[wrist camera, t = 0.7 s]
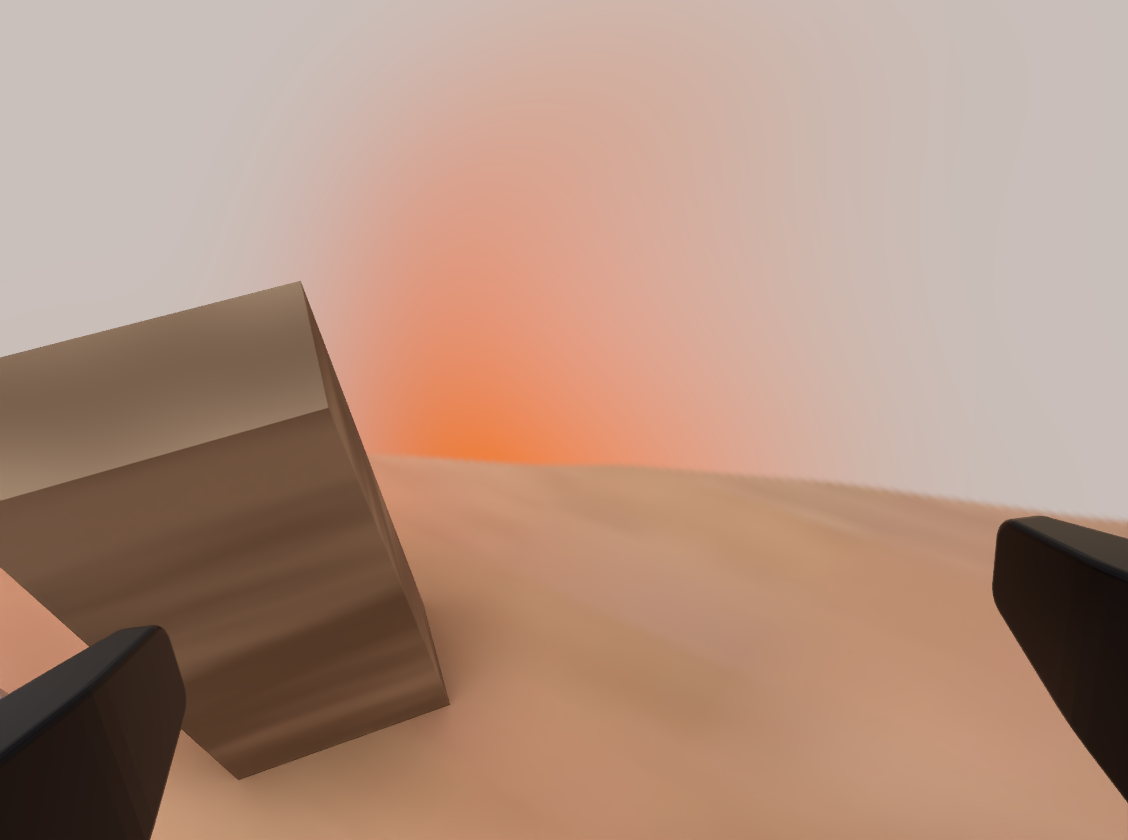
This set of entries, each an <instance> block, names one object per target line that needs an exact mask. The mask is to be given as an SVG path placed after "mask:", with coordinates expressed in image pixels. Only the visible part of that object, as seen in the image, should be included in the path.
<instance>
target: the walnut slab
mask: <svg viewBox="0 0 1128 840" xmlns="http://www.w3.org/2000/svg"><path fill="white" fill-rule="evenodd" d="M0 567H1V568H2V569H3V570H4V571H5V572H6V573H7V574H9V575H10V576H11V577H12V578H13V579H14V580H15V581H16V582H18V583H19V584H20V585H21V586H22V587H23V588H24V589H25V590H26V591H28V592H29V593H30V594H31V595H32V596H33V597H34V598H35V599H37V600H38V601H39V602H40V603H41V604H42V605H43V606H44V607H46V608H47V609H48V610H49V611H50V612H51V613H52V614H53V615H54V616H56V617H57V618H58V619H59V620H60V621H61V622H62V623H63V624H65V625H66V626H67V627H68V628H69V629H70V630H71V631H72V632H73V633H75V634H76V635H77V636H78V637H79V638H80V639H81V640H82V641H84V642H85V643H86V644H87V645H88V646H89V647H90V646H92V645H94V644H95V643H97V642H99V641H100V640H102V639H104V638H106V637H107V636H109V635H111V634H112V633H114V632H116V631H118V630H120V629H124V628H131V627H139V626H147V625H159V626H161V627H162V628H164V629H165V631H166V632H167V633H168V635H169V638H170V640H171V644H172V647H173V650H174V653H175V656H176V660H177V663H178V666H179V669H180V672H181V676H182V679H183V682H184V685H185V689H186V696H187V704H186V711H185V716H184V720H183V723H182V727H181V729H182V730H183V731H184V732H185V733H186V734H188V735H189V736H190V737H191V738H192V739H193V740H194V741H195V742H197V743H198V744H199V745H200V746H201V747H202V748H203V749H204V750H205V751H207V752H208V753H209V754H210V755H211V756H212V757H213V758H214V759H216V760H217V761H218V762H219V763H220V764H221V765H222V766H223V767H224V768H226V769H227V770H228V771H229V772H230V773H231V774H232V775H233V776H235V777H236V778H237V779H238V780H239V779H242V778H245V777H248V776H250V775H253V774H256V773H259V772H262V771H264V770H267V769H270V768H273V767H276V766H278V765H281V764H284V763H287V762H290V761H292V760H295V759H298V758H301V757H304V756H307V755H309V754H312V753H315V752H318V751H321V750H323V749H326V748H329V747H332V746H335V745H337V744H340V743H343V742H346V741H349V740H351V739H354V738H357V737H360V736H363V735H366V734H368V733H371V732H374V731H377V730H380V729H382V728H385V727H388V726H391V725H394V724H396V723H399V722H402V721H405V720H408V719H411V718H413V717H416V716H419V715H422V714H425V713H427V712H430V711H433V710H436V709H439V708H441V707H444V706H447V705H450V704H449V700H448V696H447V692H446V689H445V685H444V681H443V677H442V673H441V670H440V666H439V662H438V658H437V655H436V651H435V647H434V643H433V639H432V636H431V632H430V628H429V624H428V621H427V617H426V613H425V609H424V605H423V602H422V599H421V596H420V594H419V591H418V588H417V586H416V583H415V581H414V578H413V575H412V573H411V570H410V567H409V565H408V562H407V559H406V557H405V554H404V552H403V549H402V546H401V544H400V541H399V538H398V536H397V533H396V531H395V528H394V525H393V523H392V520H391V517H390V515H389V512H388V510H387V507H386V504H385V502H384V499H383V496H382V494H381V491H380V489H379V486H378V483H377V481H376V478H375V475H374V473H373V470H372V467H371V465H370V462H369V460H368V457H367V454H366V452H365V449H364V446H363V444H362V441H361V439H360V436H359V433H358V431H357V428H356V425H355V423H354V420H353V418H352V415H351V412H350V410H349V407H348V405H347V402H346V399H345V396H344V394H343V391H342V389H341V386H340V383H339V381H338V378H337V376H336V373H335V370H334V368H333V365H332V362H331V360H330V357H329V354H328V352H327V349H326V347H325V344H324V341H323V339H322V336H321V333H320V331H319V328H318V326H317V323H316V320H315V318H314V315H313V312H312V310H311V307H310V305H309V302H308V299H307V297H306V294H305V292H304V289H303V286H302V284H301V281H299V282H295V283H291V284H287V285H283V286H279V287H275V288H271V289H268V290H263V291H259V292H256V293H252V294H248V295H244V296H240V297H236V298H232V299H228V300H224V301H220V302H216V303H212V304H208V305H205V306H201V307H197V308H193V309H189V310H185V311H181V312H178V313H173V314H169V315H166V316H161V317H157V318H154V319H150V320H146V321H142V322H138V323H134V324H130V325H126V326H122V327H118V328H114V329H111V330H106V331H103V332H99V333H95V334H91V335H87V336H83V337H79V338H75V339H71V340H67V341H64V342H59V343H56V344H52V345H48V346H44V347H40V348H36V349H32V350H28V351H24V352H20V353H16V354H12V355H9V356H5V357H1V358H0Z"/></svg>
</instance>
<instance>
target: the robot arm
mask: <svg viewBox="0 0 1128 840" xmlns="http://www.w3.org/2000/svg"><path fill="white" fill-rule="evenodd" d="M992 590H993V597H994V601H995V604H996V606H997V608H998V610H999V612H1000V614H1001V615H1002V617H1003V619H1004V620H1005V622H1006V624H1007V625H1008V627H1009V629H1010V630H1011V632H1012V633H1013V635H1014V637H1015V638H1016V640H1017V642H1018V643H1019V645H1020V647H1021V648H1022V650H1023V651H1024V653H1025V655H1026V656H1027V658H1028V660H1029V661H1030V663H1031V665H1032V666H1033V668H1034V669H1035V671H1036V673H1037V674H1038V676H1039V678H1040V679H1041V681H1042V682H1043V684H1044V686H1045V687H1046V689H1047V691H1048V692H1049V694H1050V696H1051V697H1052V699H1053V700H1054V702H1055V704H1056V705H1057V707H1058V708H1059V710H1060V711H1061V713H1062V715H1063V716H1064V718H1065V719H1066V721H1067V722H1068V724H1069V725H1070V727H1071V728H1072V729H1073V731H1074V732H1075V734H1076V735H1077V736H1078V738H1079V739H1080V740H1081V742H1082V743H1083V745H1084V746H1085V747H1086V749H1087V750H1088V751H1089V753H1090V754H1091V755H1092V757H1093V758H1094V759H1095V761H1096V762H1097V763H1098V764H1099V766H1100V767H1101V768H1102V770H1103V771H1104V772H1105V774H1106V775H1107V776H1108V778H1109V779H1110V780H1111V782H1112V783H1113V784H1114V785H1115V787H1116V788H1117V789H1118V791H1119V792H1120V793H1121V795H1122V796H1123V797H1124V799H1125V800H1126V801H1127V803H1128V539H1127V538H1123V537H1120V536H1116V535H1112V534H1108V533H1105V532H1101V531H1097V530H1094V529H1090V528H1086V527H1083V526H1079V525H1075V524H1072V523H1068V522H1064V521H1060V520H1057V519H1053V518H1049V517H1045V516H1031V517H1023V518H1015V519H1009V520H1006V521H1005V522H1003V523H1002V524H1001V525H1000V527H999V529H998V533H997V539H996V550H995V561H994V571H993V582H992ZM186 704H187V696H186V689H185V685H184V682H183V679H182V676H181V672H180V669H179V666H178V663H177V660H176V656H175V653H174V650H173V647H172V644H171V640H170V638H169V635H168V633H167V632H166V631H165V629H164V628H162V627H161V626H159V625H147V626H139V627H131V628H124V629H120V630H118V631H116V632H114V633H112V634H111V635H109V636H107V637H106V638H104V639H102V640H100V641H99V642H97V643H95V644H94V645H92V646H90V647H89V648H87V649H85V650H83V651H82V652H80V653H78V654H77V655H75V656H73V657H71V658H70V659H68V660H66V661H65V662H63V663H61V664H59V665H58V666H56V667H54V668H53V669H51V670H49V671H47V672H46V673H44V674H42V675H41V676H39V677H37V678H35V679H34V680H32V681H30V682H29V683H27V684H25V685H23V686H22V687H20V688H18V689H17V690H15V691H13V692H12V693H10V694H8V695H6V696H5V697H3V698H1V699H0V840H150V838H151V835H152V832H153V829H154V825H155V822H156V818H157V815H158V811H159V807H160V804H161V800H162V796H163V793H164V789H165V785H166V782H167V778H168V774H169V771H170V767H171V763H172V760H173V756H174V752H175V749H176V745H177V741H178V738H179V734H180V731H181V727H182V723H183V720H184V716H185V711H186Z"/></svg>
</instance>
